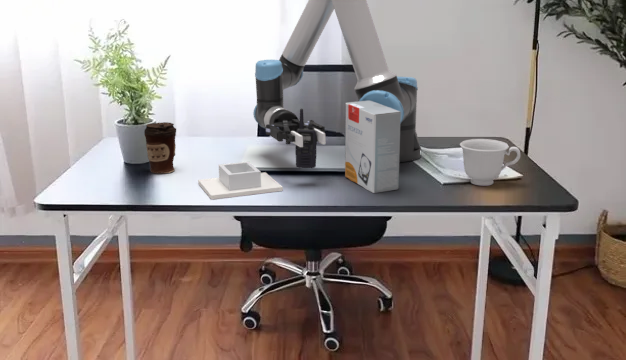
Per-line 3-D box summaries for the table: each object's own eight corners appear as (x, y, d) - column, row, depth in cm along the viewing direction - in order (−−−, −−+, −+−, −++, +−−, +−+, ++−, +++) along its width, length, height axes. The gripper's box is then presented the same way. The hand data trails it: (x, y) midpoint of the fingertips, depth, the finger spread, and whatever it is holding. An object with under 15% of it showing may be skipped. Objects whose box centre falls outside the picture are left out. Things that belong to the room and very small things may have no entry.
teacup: (517, 192, 179) (520, 152, 176) (455, 187, 183) (457, 148, 181) (518, 178, 190) (521, 141, 187) (460, 174, 194) (462, 137, 192)
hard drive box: (343, 177, 192) (344, 102, 187) (369, 173, 196) (370, 99, 190) (372, 193, 179) (374, 113, 173) (400, 189, 182) (402, 110, 176)
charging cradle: (265, 175, 194) (265, 157, 193) (282, 190, 182) (282, 171, 180) (198, 183, 188) (197, 164, 186) (211, 199, 175) (210, 179, 174)
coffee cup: (171, 176, 194) (167, 128, 190) (141, 175, 196) (137, 127, 192) (183, 167, 202) (180, 121, 199) (154, 166, 204) (151, 120, 200)
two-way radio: (294, 168, 184) (294, 109, 180) (296, 164, 188) (296, 106, 184) (316, 169, 183) (316, 109, 179) (318, 165, 188) (318, 106, 184)
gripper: (313, 132, 204) (347, 151, 183) (250, 139, 198) (277, 159, 177) (312, 105, 202) (346, 121, 181) (248, 112, 195) (276, 129, 175)
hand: (312, 140), depth 179 cm, fingers closed on two-way radio, 5 cm apart
